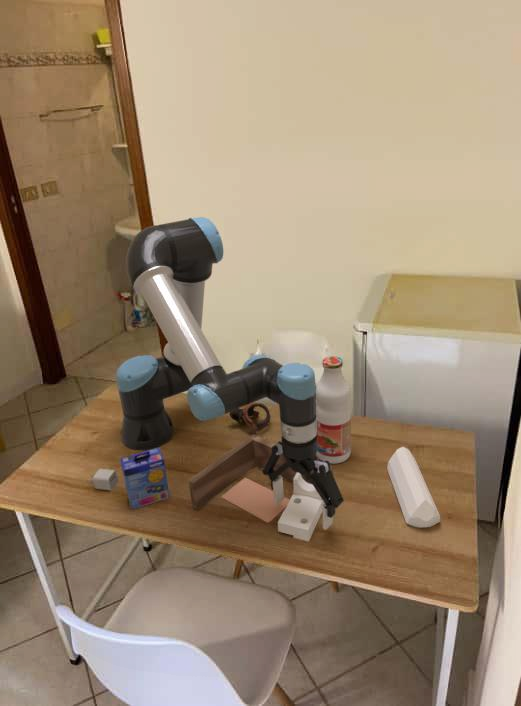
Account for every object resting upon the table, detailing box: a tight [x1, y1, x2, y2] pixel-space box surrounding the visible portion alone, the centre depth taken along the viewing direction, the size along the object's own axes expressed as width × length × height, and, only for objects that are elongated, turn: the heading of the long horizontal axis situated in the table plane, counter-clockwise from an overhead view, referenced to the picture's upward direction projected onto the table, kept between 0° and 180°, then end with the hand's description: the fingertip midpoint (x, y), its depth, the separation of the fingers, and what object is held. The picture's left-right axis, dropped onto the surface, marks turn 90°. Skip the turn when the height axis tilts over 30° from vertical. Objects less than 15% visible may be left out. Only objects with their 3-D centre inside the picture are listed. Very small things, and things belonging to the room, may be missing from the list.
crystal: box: [386, 446, 441, 528], centre depth 130 cm, size 7×7×24 cm
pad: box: [220, 477, 291, 524], centre depth 133 cm, size 15×9×1 cm, turn 50°
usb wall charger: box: [86, 468, 119, 492], centre depth 141 cm, size 4×7×4 cm, turn 76°
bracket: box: [277, 472, 324, 543], centre depth 125 cm, size 13×7×8 cm, turn 157°
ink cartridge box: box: [119, 447, 171, 510], centre depth 133 cm, size 10×6×14 cm, turn 113°
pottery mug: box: [228, 402, 272, 435], centre depth 161 cm, size 12×10×8 cm
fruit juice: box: [316, 355, 352, 465], centre depth 142 cm, size 9×9×28 cm
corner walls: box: [188, 434, 334, 511], centre depth 131 cm, size 25×23×8 cm
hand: (302, 513), depth 125 cm, fingers open, 13 cm apart
